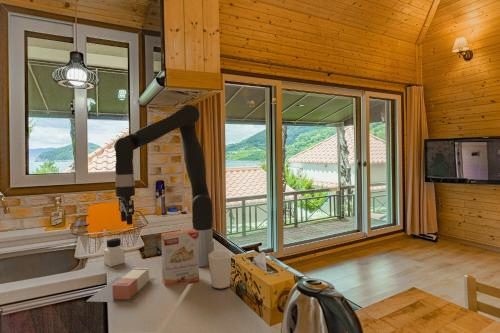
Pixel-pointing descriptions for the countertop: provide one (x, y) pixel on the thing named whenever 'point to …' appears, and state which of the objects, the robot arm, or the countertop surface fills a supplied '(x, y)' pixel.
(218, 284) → the cup
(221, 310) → the countertop surface
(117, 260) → the medicine bottle
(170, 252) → the cracker box
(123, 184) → the robot arm
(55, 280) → the countertop surface
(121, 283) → the stub
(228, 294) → the countertop surface
